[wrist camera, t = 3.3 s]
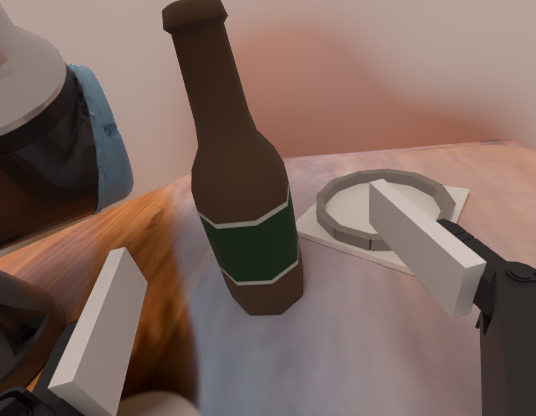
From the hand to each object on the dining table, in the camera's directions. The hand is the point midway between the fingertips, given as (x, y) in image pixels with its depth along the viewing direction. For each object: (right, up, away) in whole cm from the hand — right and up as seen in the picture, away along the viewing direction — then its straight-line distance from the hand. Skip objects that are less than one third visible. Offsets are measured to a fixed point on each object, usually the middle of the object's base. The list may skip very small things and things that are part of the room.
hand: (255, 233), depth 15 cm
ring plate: (+14, +1, +20) cm, 25 cm away
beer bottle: (+1, -7, +14) cm, 15 cm away
